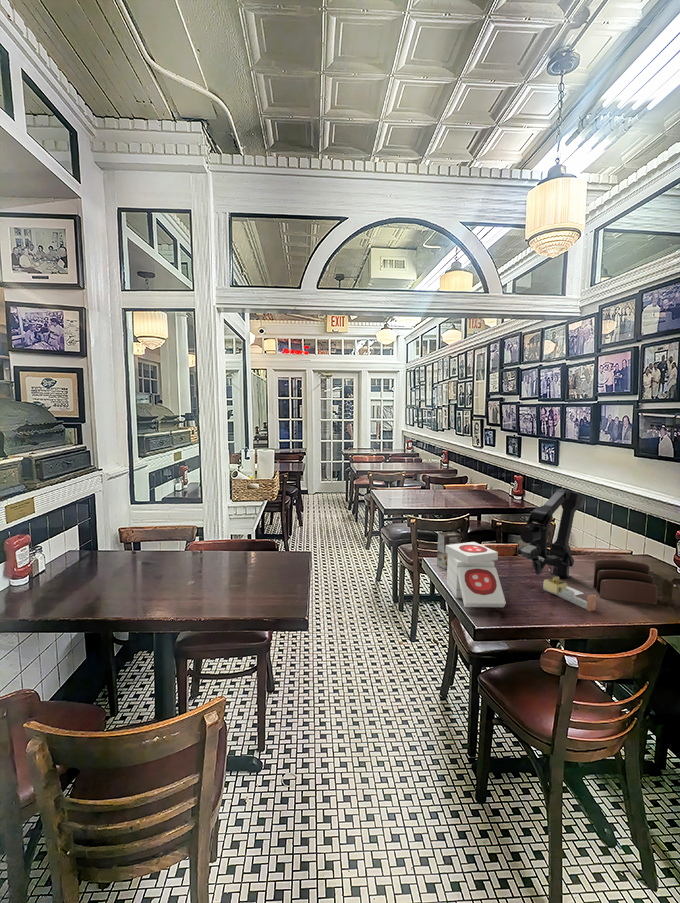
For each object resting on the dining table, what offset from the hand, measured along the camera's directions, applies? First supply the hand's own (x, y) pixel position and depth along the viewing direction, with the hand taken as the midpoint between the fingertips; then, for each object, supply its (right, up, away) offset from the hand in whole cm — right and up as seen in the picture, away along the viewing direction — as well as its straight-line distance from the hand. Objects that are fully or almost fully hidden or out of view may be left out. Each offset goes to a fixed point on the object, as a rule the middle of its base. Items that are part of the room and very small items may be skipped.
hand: (537, 574), depth 185 cm
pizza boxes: (-31, -6, -10) cm, 33 cm away
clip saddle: (+4, -4, -8) cm, 10 cm away
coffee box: (-33, -3, +23) cm, 40 cm away
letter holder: (+31, -7, -9) cm, 33 cm away
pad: (+10, -6, -5) cm, 12 cm away
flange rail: (+2, -6, -15) cm, 16 cm away
